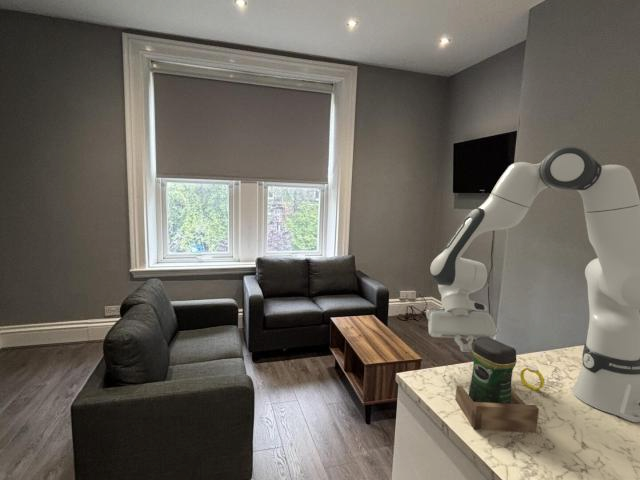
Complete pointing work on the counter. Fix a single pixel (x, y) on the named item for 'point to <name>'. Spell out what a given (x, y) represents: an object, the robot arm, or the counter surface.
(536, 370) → the watch
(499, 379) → the coffee jar
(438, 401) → the counter surface
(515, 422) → the wooden frame
